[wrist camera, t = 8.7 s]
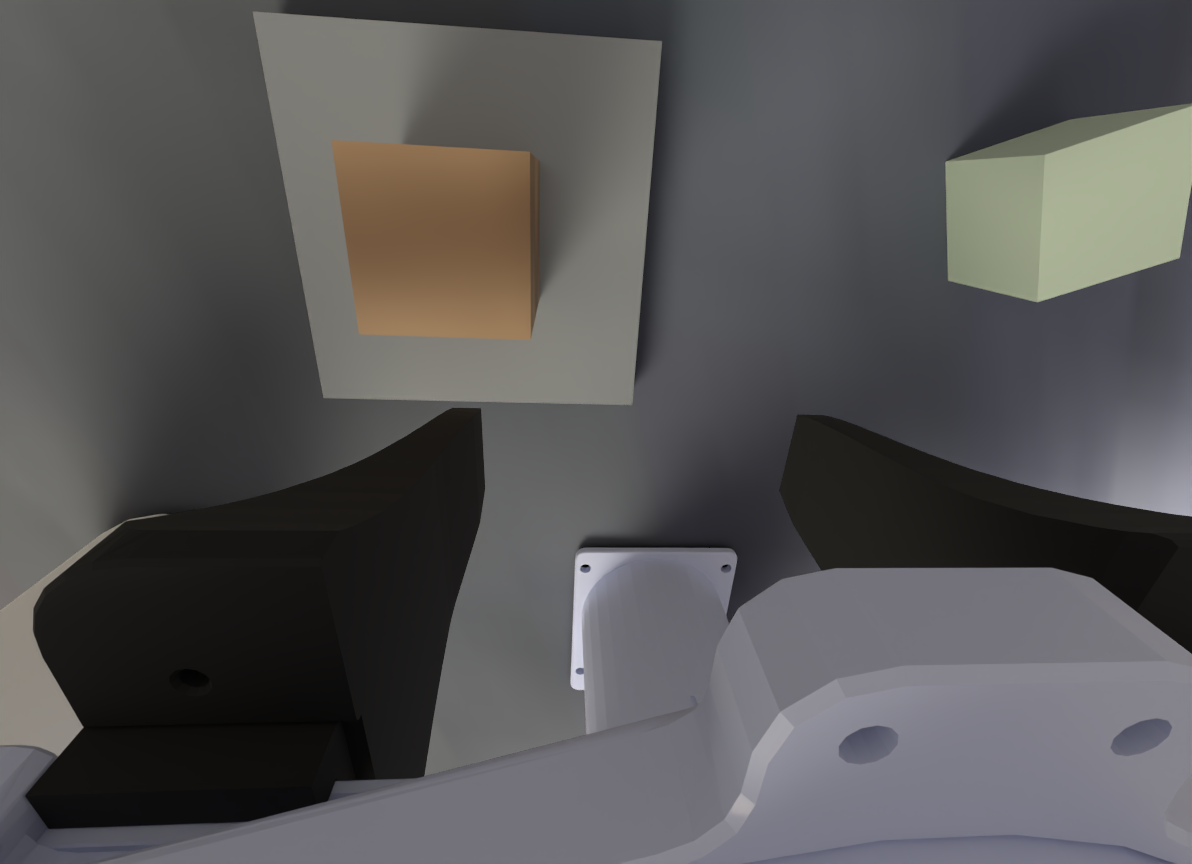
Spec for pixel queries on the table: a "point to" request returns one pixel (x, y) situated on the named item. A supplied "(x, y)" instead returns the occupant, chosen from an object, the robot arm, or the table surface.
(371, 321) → the walnut block
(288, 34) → the grey square tile
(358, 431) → the table surface
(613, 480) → the table surface
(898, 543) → the robot arm
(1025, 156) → the pale green block
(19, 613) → the potion bottle
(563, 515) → the table surface
